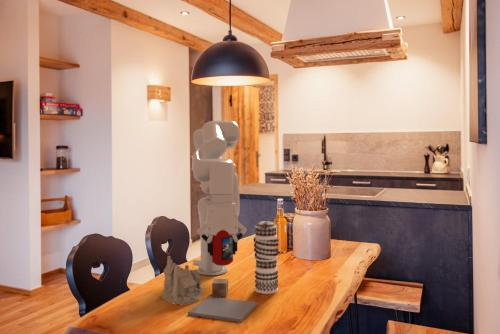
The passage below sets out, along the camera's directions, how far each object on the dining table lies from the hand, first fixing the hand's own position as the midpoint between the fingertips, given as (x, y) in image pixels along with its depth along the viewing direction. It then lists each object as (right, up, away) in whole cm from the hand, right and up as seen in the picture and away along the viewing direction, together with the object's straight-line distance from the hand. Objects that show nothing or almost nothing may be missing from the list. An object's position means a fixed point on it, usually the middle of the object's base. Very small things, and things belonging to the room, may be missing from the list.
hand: (222, 253), depth 143 cm
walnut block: (-2, -18, +16) cm, 24 cm away
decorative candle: (+15, -17, +20) cm, 30 cm away
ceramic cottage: (-14, -18, +15) cm, 27 cm away
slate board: (0, -18, +1) cm, 18 cm away
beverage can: (0, -3, 0) cm, 3 cm away
